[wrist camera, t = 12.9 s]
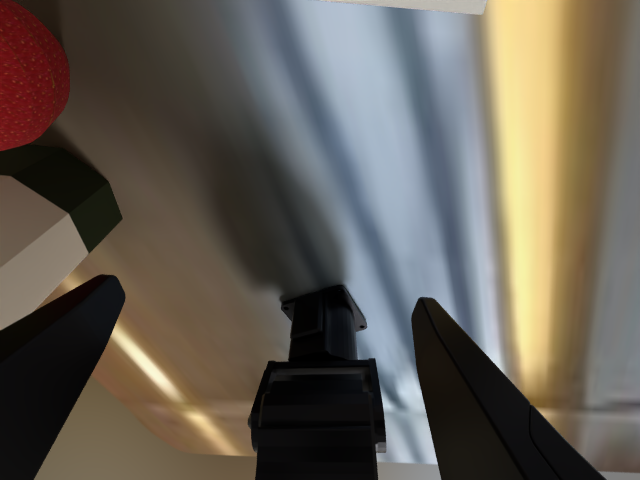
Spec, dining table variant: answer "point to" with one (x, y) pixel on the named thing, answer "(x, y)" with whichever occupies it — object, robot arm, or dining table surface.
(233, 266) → the dining table surface
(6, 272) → the wine bottle
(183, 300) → the dining table surface
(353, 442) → the robot arm
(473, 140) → the dining table surface
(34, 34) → the strawberry
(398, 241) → the dining table surface
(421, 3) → the dimmer console
